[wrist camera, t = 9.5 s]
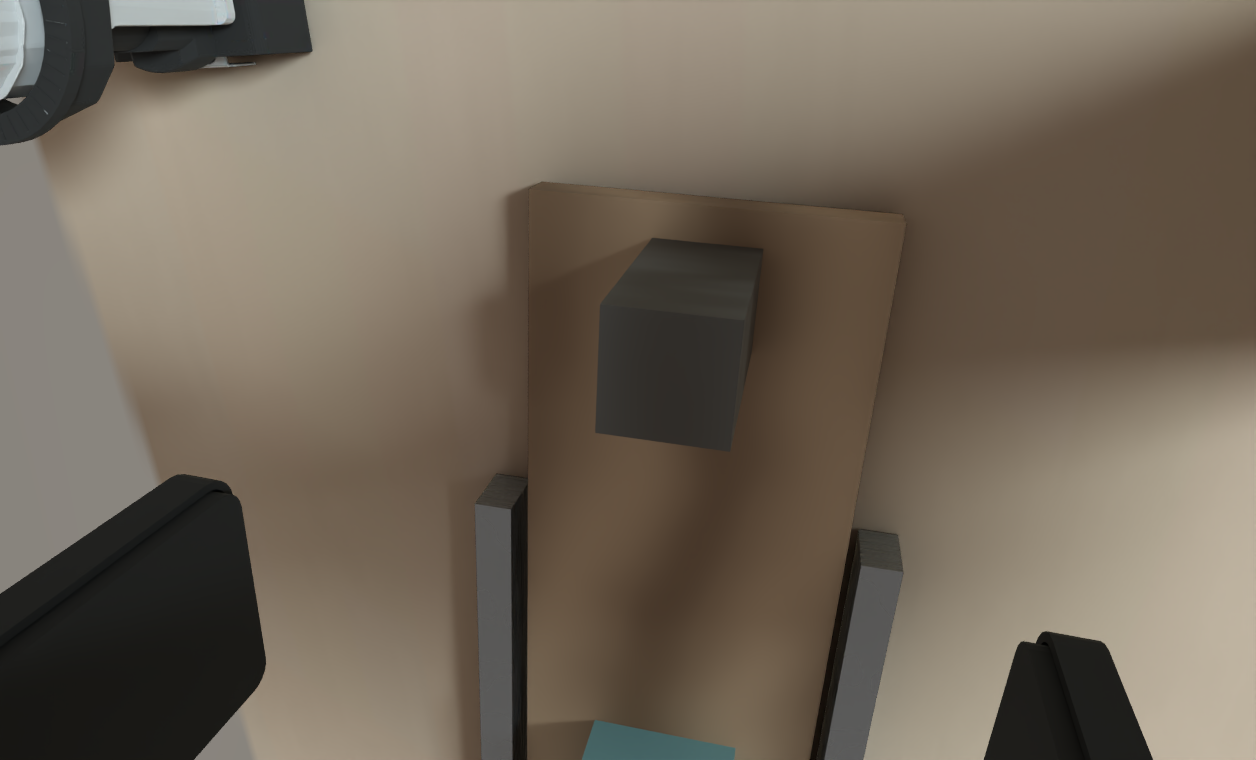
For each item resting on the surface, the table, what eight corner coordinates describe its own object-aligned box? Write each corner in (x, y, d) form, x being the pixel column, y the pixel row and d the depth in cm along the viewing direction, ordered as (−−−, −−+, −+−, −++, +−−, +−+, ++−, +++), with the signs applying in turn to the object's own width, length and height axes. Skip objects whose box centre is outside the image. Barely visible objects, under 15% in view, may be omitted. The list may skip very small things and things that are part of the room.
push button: (142, 110, 27) (-209, 157, 17) (93, -83, 24) (-332, -144, 15) (336, 103, 25) (63, 150, 16) (301, -103, 23) (-33, -182, 14)
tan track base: (902, 214, 23) (934, 292, 16) (771, 948, 35) (759, 1162, 28) (541, 181, 24) (439, 240, 18) (535, 892, 36) (473, 1081, 30)
